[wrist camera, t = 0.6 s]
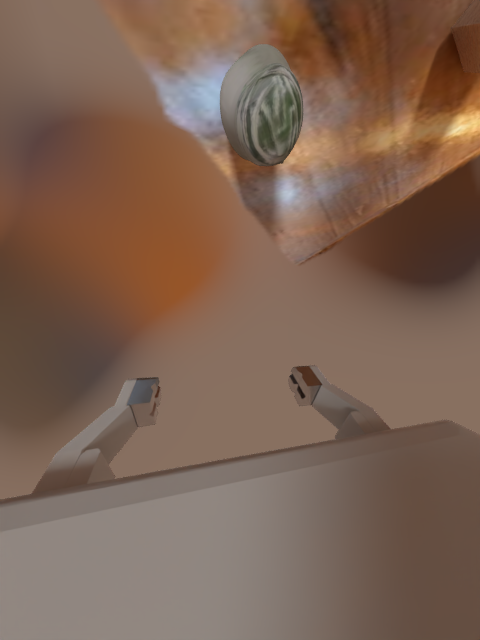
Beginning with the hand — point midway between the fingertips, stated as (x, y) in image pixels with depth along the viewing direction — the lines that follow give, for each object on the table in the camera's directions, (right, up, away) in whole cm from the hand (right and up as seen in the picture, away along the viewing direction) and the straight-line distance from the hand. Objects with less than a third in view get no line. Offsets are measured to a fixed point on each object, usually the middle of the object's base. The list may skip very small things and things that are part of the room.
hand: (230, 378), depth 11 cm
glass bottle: (+2, +46, +23) cm, 51 cm away
